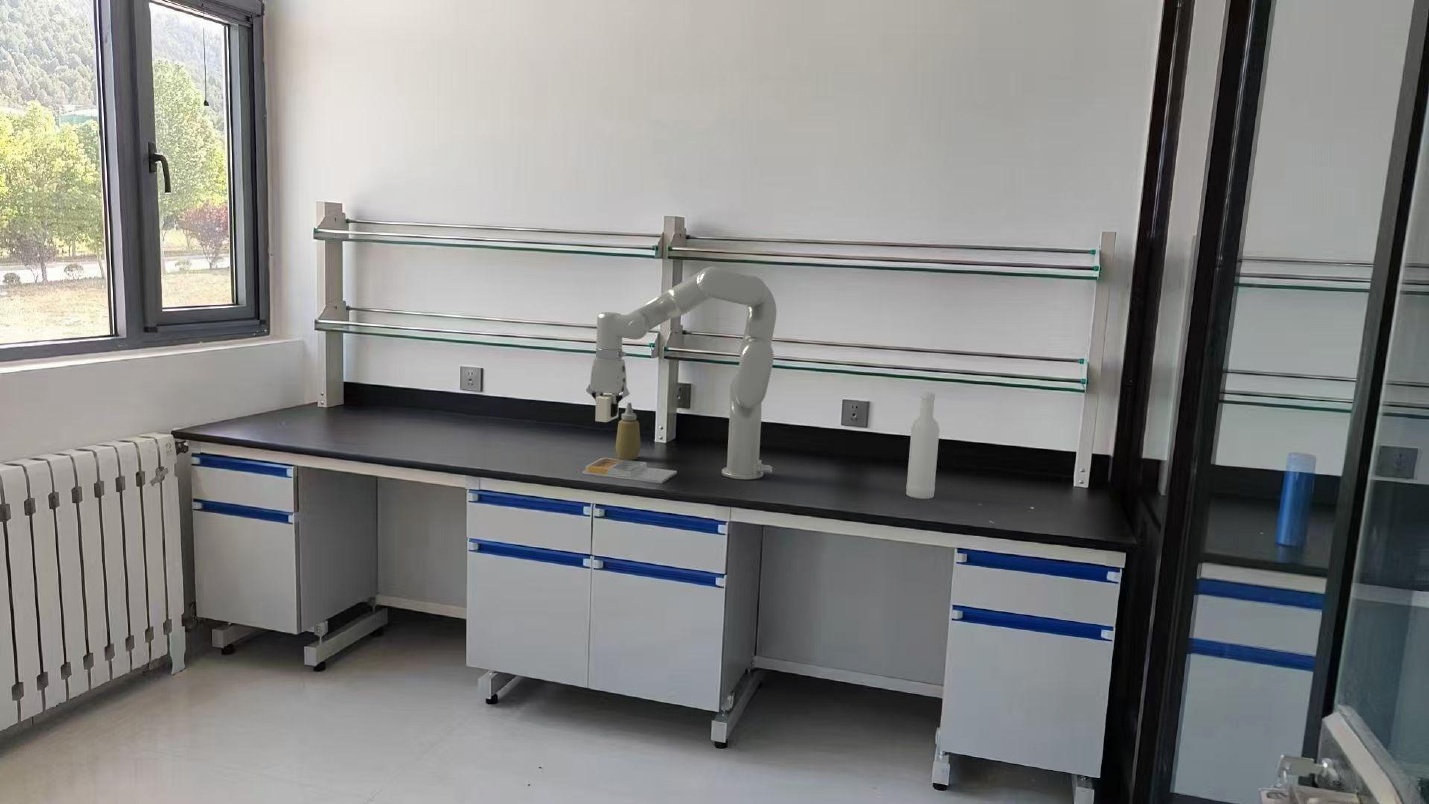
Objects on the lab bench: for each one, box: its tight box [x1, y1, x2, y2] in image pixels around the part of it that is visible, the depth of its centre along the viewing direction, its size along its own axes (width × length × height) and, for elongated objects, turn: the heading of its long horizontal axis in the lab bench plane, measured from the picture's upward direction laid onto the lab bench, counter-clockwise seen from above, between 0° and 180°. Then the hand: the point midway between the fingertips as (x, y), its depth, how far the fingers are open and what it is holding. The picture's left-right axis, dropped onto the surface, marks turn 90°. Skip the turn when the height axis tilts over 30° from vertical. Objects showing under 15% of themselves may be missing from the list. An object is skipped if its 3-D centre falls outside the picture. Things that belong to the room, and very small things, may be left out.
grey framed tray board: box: [582, 457, 678, 484], centre depth 285 cm, size 25×13×2 cm, turn 73°
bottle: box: [905, 391, 940, 500], centre depth 272 cm, size 8×8×30 cm
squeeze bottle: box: [615, 402, 642, 461], centre depth 303 cm, size 8×8×18 cm
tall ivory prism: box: [594, 393, 620, 423], centre depth 284 cm, size 4×9×7 cm, turn 163°
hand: (607, 415), depth 285 cm, fingers closed on tall ivory prism, 3 cm apart
